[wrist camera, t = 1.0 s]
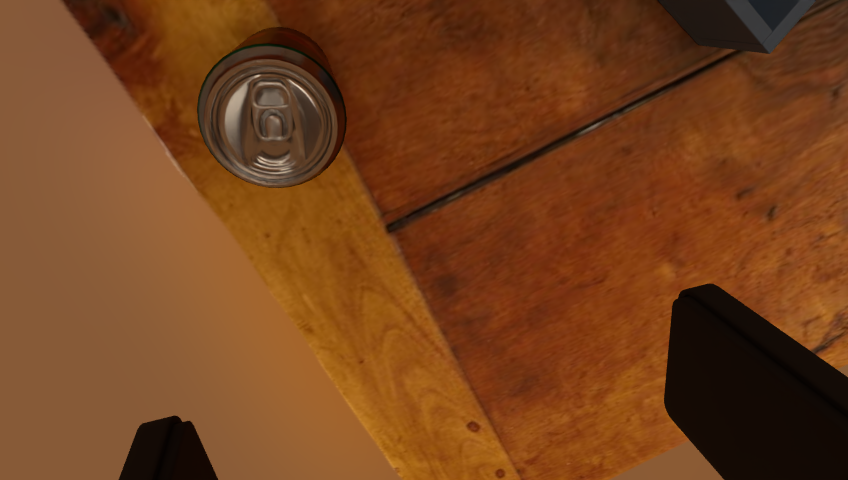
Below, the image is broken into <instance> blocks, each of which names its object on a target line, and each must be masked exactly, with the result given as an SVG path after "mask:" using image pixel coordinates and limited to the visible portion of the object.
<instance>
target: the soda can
mask: <svg viewBox="0 0 848 480" xmlns="http://www.w3.org/2000/svg"><path fill="white" fill-rule="evenodd" d="M197 113H198V123H199V127H200V132H201V134H202V137H203V139H204V142H205V144H206V146H207V147H208V149H209V151H210V152H211V154H212V155H213V156H214V157H215V159H216V160H217V161H218V162H219V163H220V164H221V165H222V166H223V167H224V168H225V169H226V170H228V171H229V172H230V173H232V174H233V175H235V176H236V177H238V178H240V179H242V180H244V181H246V182H249V183H252V184H255V185H258V186H263V187H269V188H284V187H292V186H296V185H300V184H303V183H305V182H307V181H310V180H312V179H313V178H315V177H317V176H318V175H320V174H321V173H322V172H323V171H324V170H326V169H327V168H328V167H329V166H330V164H331V163H332V162H333V161H334V160H335V158H336V156H337V155H338V153H339V151H340V149H341V146H342V144H343V141H344V137H345V133H346V123H347V117H346V108H345V104H344V100H343V97H342V94H341V92H340V89H339V87H338V84H337V82H336V79H335V76H334V74H333V71H332V69H331V66H330V64H329V62H328V59H327V57H326V55H325V54H324V52H323V50H322V49H321V48H320V47H319V46H318V44H317V43H316V42H314V41H313V40H312V39H311V38H310V37H308V36H307V35H305V34H304V33H301V32H299V31H297V30H294V29H290V28H284V27H272V28H267V29H263V30H261V31H259V32H256V33H255V34H253V35H252V36H250V37H249V38H247V39H246V40H245V41H244V42H242V43H241V44H240V45H238V46H237V47H236V48H235V49H233V50H232V51H231V52H229V53H228V54H227V55H226V56H224V57H223V58H222V59H221V60H220V61H219V62H218V63H217V64H215V65H214V67H213V68H212V69H211V71H210V72H209V73H208V75H207V76H206V78H205V80H204V82H203V84H202V87H201V90H200V94H199V97H198V106H197Z"/></svg>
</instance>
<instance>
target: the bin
mask: <svg viewBox="0 0 848 480" xmlns="http://www.w3.org/2000/svg"><path fill="white" fill-rule="evenodd" d="M658 1H659V2H660V3H661V4H662V5H663V7H664V8H665V9H666V10H667V11H668V12H669V13H670V14H671V15H672V16H673V18H674V19H675V20H676V21H677V22H678V23H679V24H680V25H681V26H682V27H683V29H684V30H685V31H686V32H687V33H688V34H689V35H690V36H691V37H692V38H693V40H694V41H695V42H696V43H697V44H698V45H703V46H711V47H719V48H727V49H735V50H743V51H751V52H759V53H767V54H770V53H771V52H772V51H773V50H774V48H775V47H776V46H777V45H778V44H779V43H780V42H781V40H782V39H783V38H784V37H785V36H786V35H787V33H788V32H789V31H790V30H791V29H792V28H793V26H794V25H795V24H796V23H797V22H798V21H799V20H800V18H801V17H802V16H803V15H804V14H805V13H806V11H807V10H808V9H809V8H810V7H811V6H812V4H813V3H814V2H815V1H816V0H658Z"/></svg>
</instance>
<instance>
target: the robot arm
mask: <svg viewBox="0 0 848 480" xmlns="http://www.w3.org/2000/svg"><path fill="white" fill-rule="evenodd" d="M664 404H665V408H666V411H667V413H668V415H669V416H670V418H671V419H672V420H673V421H674V423H675V424H676V425H677V426H678V427H679V428H680V429H681V431H682V432H683V433H684V434H685V435H686V436H687V438H688V439H689V440H690V441H691V442H692V443H693V444H694V446H695V447H696V448H697V449H698V450H699V451H700V452H701V454H702V455H703V456H704V457H705V458H706V459H707V460H708V461H709V463H710V464H711V465H712V466H713V467H714V469H716V471H717V472H718V473H719V474H720V475H721V476H722V478H723V479H724V480H848V377H847V376H845V375H844V374H842V373H841V372H839V371H838V370H837V369H835V368H834V367H832V366H831V365H829V364H828V363H827V362H825V361H824V360H822V359H821V358H819V357H818V356H817V355H815V354H814V353H812V352H811V351H810V350H808V349H807V348H805V347H804V346H802V345H801V344H800V343H798V342H797V341H795V340H794V339H792V338H791V337H790V336H788V335H787V334H785V333H784V332H782V331H781V330H780V329H778V328H777V327H775V326H774V325H772V324H771V323H770V322H768V321H767V320H765V319H764V318H763V317H761V316H760V315H758V314H757V313H755V312H754V311H753V310H751V309H750V308H748V307H747V306H745V305H744V304H743V303H741V302H740V301H738V300H737V299H735V298H734V297H733V296H731V295H730V294H728V293H727V292H725V291H724V290H723V289H721V288H720V287H718V286H716V285H714V284H705V285H701V286H697V287H693V288H689V289H685V290H683V291H681V292H680V294H679V297H678V299H676V300H675V301H674V302H673V306H672V316H671V327H670V338H669V350H668V361H667V372H666V383H665V395H664ZM119 480H218V478H217V476H216V474H215V472H214V470H213V467H212V465H211V463H210V461H209V458H208V456H207V454H206V452H205V449H204V447H203V445H202V443H201V441H200V438H199V436H198V434H197V432H196V429H195V428H194V425H193V424H192V422H190V421H186V422H182V421H181V419H180V418H179V417H178V416H171V417H167V418H163V419H159V420H155V421H151V422H147V423H143V424H142V425H140V426H139V428H138V430H137V432H136V435H135V438H134V441H133V443H132V446H131V448H130V451H129V454H128V456H127V459H126V462H125V464H124V467H123V470H122V472H121V475H120V478H119Z"/></svg>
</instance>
